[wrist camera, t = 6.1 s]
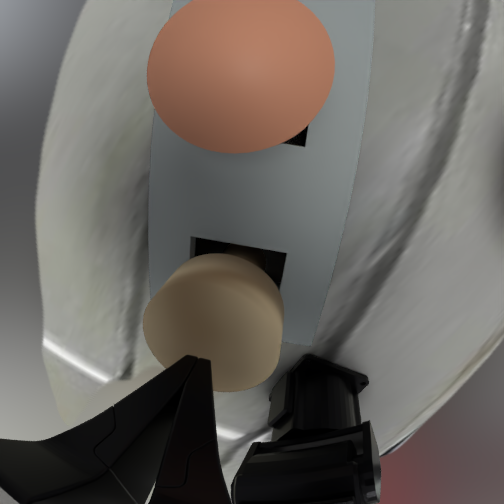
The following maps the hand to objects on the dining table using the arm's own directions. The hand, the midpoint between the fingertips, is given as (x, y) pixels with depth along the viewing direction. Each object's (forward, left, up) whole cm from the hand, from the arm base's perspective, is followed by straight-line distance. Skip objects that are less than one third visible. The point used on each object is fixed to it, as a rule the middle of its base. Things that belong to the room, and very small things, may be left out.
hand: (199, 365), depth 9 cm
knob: (0, 0, -8) cm, 8 cm away
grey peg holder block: (+3, -9, -11) cm, 14 cm away
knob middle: (+3, -9, -9) cm, 13 cm away
